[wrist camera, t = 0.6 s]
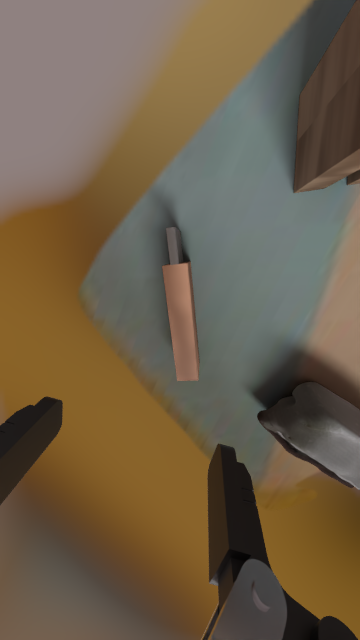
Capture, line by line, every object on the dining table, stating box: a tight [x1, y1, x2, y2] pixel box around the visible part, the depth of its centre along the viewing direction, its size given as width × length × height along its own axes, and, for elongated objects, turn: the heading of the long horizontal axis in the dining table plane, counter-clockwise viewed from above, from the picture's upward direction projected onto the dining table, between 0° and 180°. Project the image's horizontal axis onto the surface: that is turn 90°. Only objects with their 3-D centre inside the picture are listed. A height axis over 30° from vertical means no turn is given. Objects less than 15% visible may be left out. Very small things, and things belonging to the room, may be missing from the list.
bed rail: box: [162, 227, 199, 381], centre depth 27 cm, size 3×20×5 cm, turn 7°
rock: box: [257, 382, 360, 490], centre depth 30 cm, size 18×11×8 cm, turn 59°
